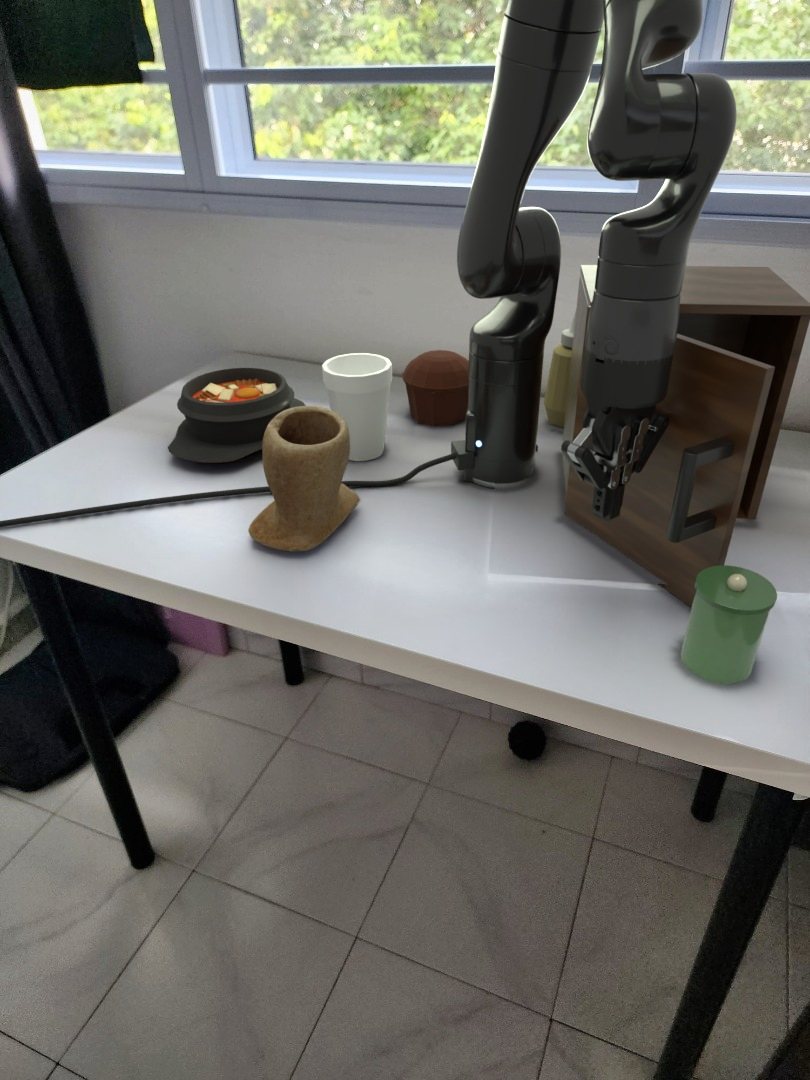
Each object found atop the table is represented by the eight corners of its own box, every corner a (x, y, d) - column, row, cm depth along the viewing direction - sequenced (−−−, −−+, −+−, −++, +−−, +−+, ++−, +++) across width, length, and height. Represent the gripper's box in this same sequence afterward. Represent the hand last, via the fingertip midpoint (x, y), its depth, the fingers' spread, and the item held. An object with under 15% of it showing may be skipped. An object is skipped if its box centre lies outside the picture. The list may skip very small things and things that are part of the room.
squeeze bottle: (603, 421, 116) (618, 303, 106) (583, 440, 110) (598, 318, 100) (554, 411, 119) (565, 296, 110) (533, 429, 114) (542, 309, 104)
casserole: (252, 484, 101) (243, 426, 96) (138, 463, 106) (126, 408, 102) (333, 414, 120) (329, 363, 116) (234, 399, 126) (226, 351, 121)
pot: (684, 683, 67) (706, 595, 62) (673, 635, 73) (692, 551, 67) (762, 689, 66) (790, 601, 61) (744, 641, 72) (769, 556, 67)
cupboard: (753, 526, 89) (814, 306, 75) (566, 516, 92) (590, 302, 78) (722, 462, 103) (768, 266, 89) (561, 455, 106) (580, 264, 92)
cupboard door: (666, 633, 73) (722, 381, 59) (529, 531, 89) (547, 314, 75) (712, 613, 75) (775, 366, 61) (569, 517, 92) (594, 304, 78)
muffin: (395, 426, 115) (393, 364, 110) (410, 399, 125) (409, 340, 119) (471, 432, 113) (473, 368, 108) (481, 404, 122) (483, 344, 117)
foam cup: (404, 443, 110) (403, 358, 103) (376, 470, 103) (372, 380, 96) (348, 433, 114) (342, 349, 107) (317, 458, 107) (309, 370, 100)
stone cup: (324, 570, 83) (312, 448, 75) (236, 546, 88) (217, 428, 80) (385, 507, 95) (381, 395, 87) (305, 489, 99) (294, 381, 91)
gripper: (643, 320, 71) (619, 483, 80) (544, 348, 64) (530, 522, 74) (713, 339, 66) (678, 510, 75) (612, 371, 59) (588, 554, 68)
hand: (605, 516), depth 74 cm, fingers closed
